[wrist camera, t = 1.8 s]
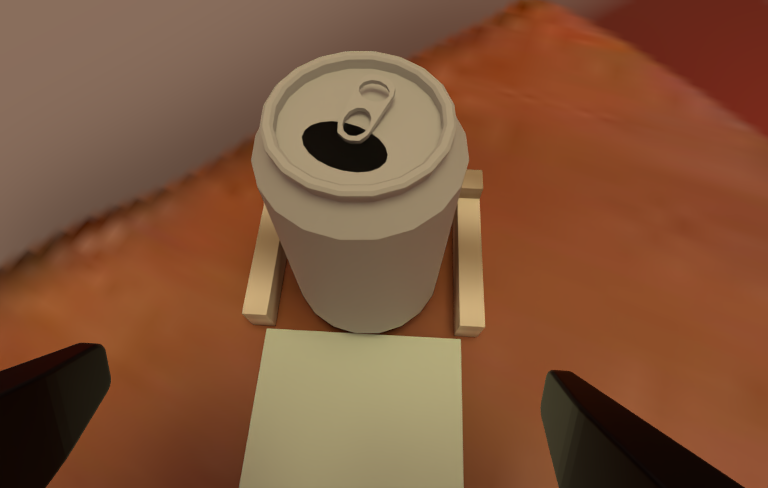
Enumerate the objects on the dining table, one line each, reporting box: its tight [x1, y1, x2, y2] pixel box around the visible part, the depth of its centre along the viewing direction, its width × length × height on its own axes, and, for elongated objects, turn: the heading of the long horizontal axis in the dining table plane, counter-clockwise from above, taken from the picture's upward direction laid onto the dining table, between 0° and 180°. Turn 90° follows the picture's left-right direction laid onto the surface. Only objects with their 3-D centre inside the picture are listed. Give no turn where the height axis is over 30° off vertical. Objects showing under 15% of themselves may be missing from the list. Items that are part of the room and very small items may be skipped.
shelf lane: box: [242, 170, 485, 337], centre depth 23 cm, size 8×12×3 cm
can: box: [251, 51, 469, 333], centre depth 19 cm, size 8×8×12 cm
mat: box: [239, 328, 464, 488], centre depth 21 cm, size 10×10×1 cm
